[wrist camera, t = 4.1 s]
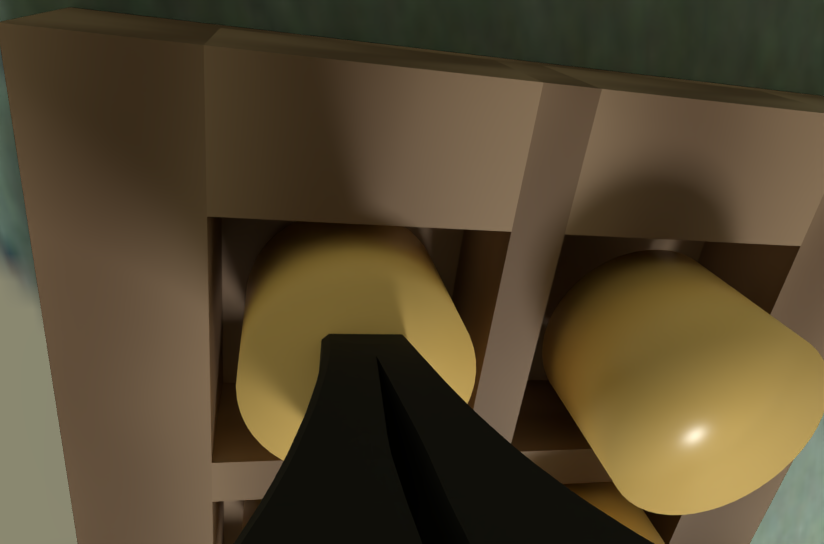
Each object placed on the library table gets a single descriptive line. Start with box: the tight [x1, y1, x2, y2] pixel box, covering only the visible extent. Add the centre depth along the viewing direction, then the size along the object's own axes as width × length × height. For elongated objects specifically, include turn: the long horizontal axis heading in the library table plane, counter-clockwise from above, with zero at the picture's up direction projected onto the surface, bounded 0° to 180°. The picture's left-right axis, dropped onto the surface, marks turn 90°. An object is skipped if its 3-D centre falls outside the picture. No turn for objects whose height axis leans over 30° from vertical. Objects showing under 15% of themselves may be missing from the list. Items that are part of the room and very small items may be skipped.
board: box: [0, 7, 824, 544], centre depth 14 cm, size 16×16×3 cm
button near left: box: [236, 221, 476, 461], centre depth 11 cm, size 4×4×3 cm
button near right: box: [542, 249, 824, 515], centre depth 12 cm, size 4×4×3 cm
